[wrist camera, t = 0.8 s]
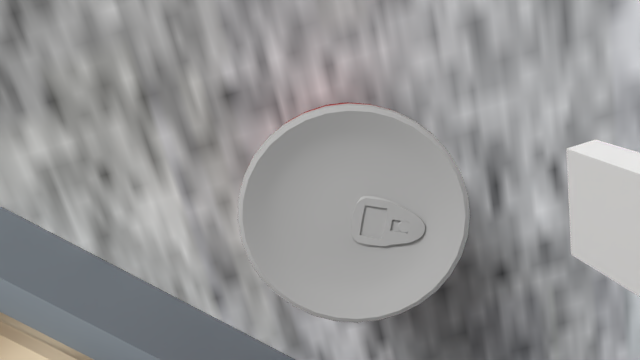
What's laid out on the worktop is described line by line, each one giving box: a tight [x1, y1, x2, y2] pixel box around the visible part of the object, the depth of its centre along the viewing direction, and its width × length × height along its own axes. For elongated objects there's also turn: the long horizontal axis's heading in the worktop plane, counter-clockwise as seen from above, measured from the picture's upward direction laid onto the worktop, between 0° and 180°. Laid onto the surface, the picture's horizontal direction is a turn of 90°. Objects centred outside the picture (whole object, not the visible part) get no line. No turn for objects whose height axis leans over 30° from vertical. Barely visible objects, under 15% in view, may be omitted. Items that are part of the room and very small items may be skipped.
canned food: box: [238, 103, 470, 323], centre depth 23 cm, size 8×8×11 cm
